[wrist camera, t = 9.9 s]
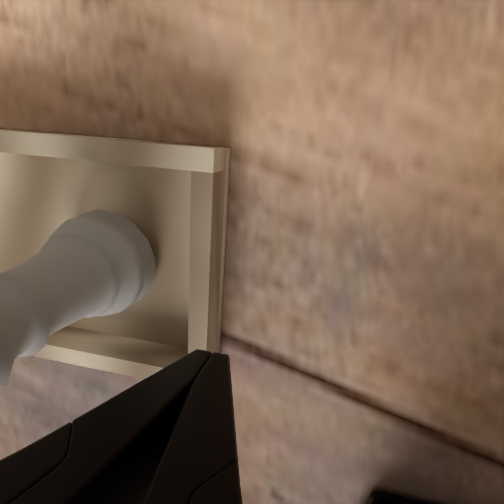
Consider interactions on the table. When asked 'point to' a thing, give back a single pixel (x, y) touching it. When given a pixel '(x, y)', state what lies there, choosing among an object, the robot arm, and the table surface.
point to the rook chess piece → (72, 282)
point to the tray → (149, 223)
